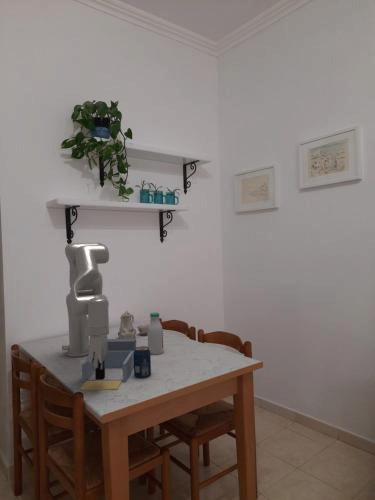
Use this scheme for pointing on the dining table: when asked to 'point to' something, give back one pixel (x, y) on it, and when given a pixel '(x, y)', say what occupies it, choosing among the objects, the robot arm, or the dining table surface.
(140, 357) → the soda can
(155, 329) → the milk bottle
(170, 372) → the dining table surface
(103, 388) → the panel
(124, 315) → the chinaware
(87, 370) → the truck bed
